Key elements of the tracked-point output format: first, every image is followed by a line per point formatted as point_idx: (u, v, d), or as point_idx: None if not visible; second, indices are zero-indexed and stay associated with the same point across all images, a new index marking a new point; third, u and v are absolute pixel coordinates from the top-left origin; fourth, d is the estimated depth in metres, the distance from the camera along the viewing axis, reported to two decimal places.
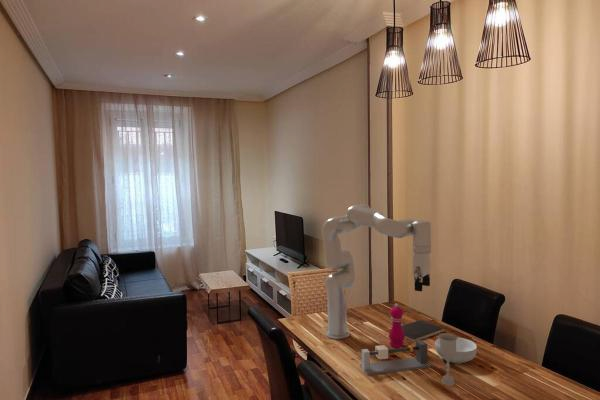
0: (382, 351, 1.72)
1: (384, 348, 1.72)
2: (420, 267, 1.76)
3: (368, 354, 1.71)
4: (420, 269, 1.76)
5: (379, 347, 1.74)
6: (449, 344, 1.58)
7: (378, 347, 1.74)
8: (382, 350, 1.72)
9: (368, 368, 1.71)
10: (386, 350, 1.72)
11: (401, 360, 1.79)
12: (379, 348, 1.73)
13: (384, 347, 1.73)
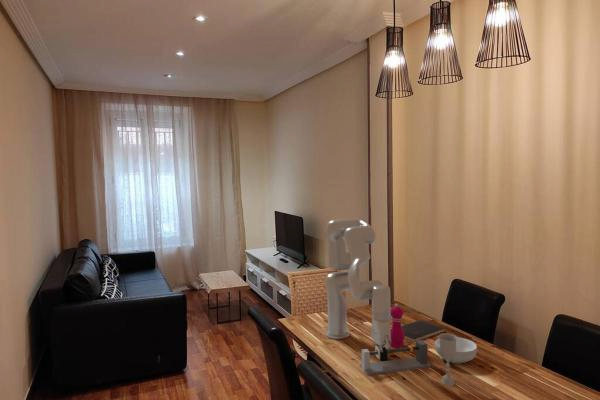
0: None
1: None
2: (388, 335, 1.68)
3: (368, 354, 1.71)
4: (388, 337, 1.68)
5: (379, 347, 1.74)
6: (449, 344, 1.58)
7: (378, 347, 1.74)
8: None
9: (368, 368, 1.71)
10: None
11: (401, 360, 1.79)
12: (379, 348, 1.73)
13: None
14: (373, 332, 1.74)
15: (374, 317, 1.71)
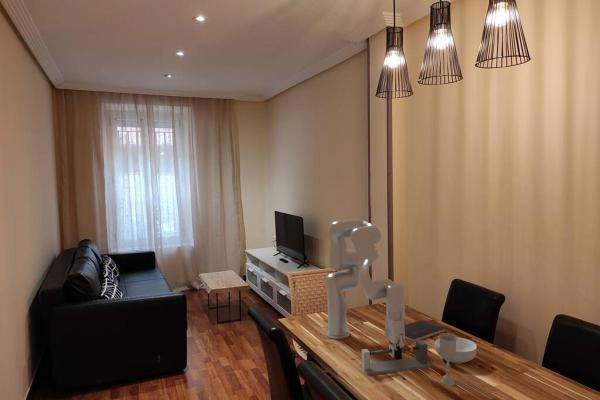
0: None
1: None
2: (402, 334, 1.70)
3: (368, 354, 1.71)
4: (403, 336, 1.70)
5: (393, 345, 1.75)
6: (449, 344, 1.58)
7: (392, 345, 1.75)
8: None
9: (368, 368, 1.71)
10: None
11: (401, 360, 1.79)
12: (393, 346, 1.74)
13: (398, 345, 1.75)
14: (387, 331, 1.76)
15: (388, 316, 1.72)
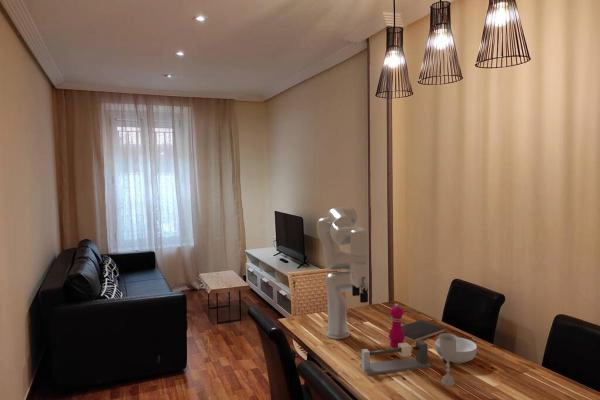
0: (405, 348, 1.74)
1: (407, 345, 1.75)
2: (366, 277, 1.71)
3: (368, 354, 1.71)
4: (366, 279, 1.71)
5: (402, 344, 1.76)
6: (449, 344, 1.58)
7: (401, 344, 1.76)
8: (405, 347, 1.74)
9: (368, 368, 1.71)
10: (409, 348, 1.74)
11: (401, 360, 1.79)
12: (402, 345, 1.75)
13: (407, 344, 1.75)
14: (351, 276, 1.77)
15: (352, 260, 1.74)
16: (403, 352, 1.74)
